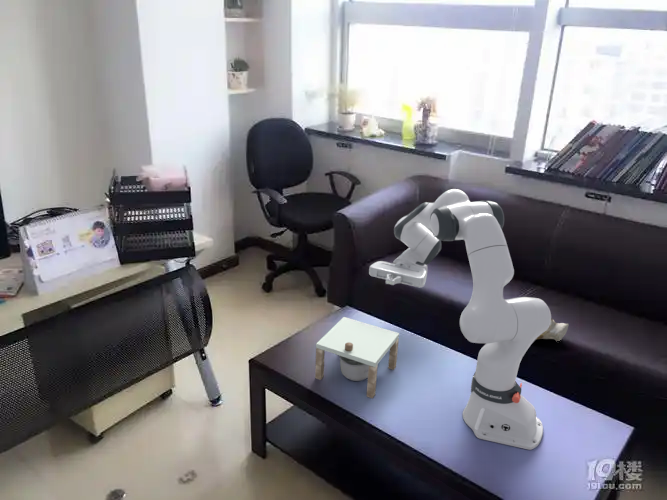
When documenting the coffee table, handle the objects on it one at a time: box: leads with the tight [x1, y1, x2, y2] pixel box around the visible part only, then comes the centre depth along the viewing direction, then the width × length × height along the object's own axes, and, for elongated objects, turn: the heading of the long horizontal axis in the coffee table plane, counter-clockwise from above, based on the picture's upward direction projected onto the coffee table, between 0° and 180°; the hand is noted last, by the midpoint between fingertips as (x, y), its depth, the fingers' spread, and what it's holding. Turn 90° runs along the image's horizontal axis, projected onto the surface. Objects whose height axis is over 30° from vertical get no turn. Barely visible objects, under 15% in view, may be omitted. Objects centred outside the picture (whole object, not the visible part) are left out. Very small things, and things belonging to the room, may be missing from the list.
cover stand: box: [314, 337, 400, 400], centre depth 185 cm, size 20×20×11 cm
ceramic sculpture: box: [534, 317, 570, 342], centre depth 210 cm, size 11×9×15 cm
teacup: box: [339, 355, 369, 382], centre depth 186 cm, size 14×11×8 cm
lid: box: [315, 316, 400, 367], centre depth 182 cm, size 20×19×3 cm
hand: (389, 282), depth 197 cm, fingers closed
